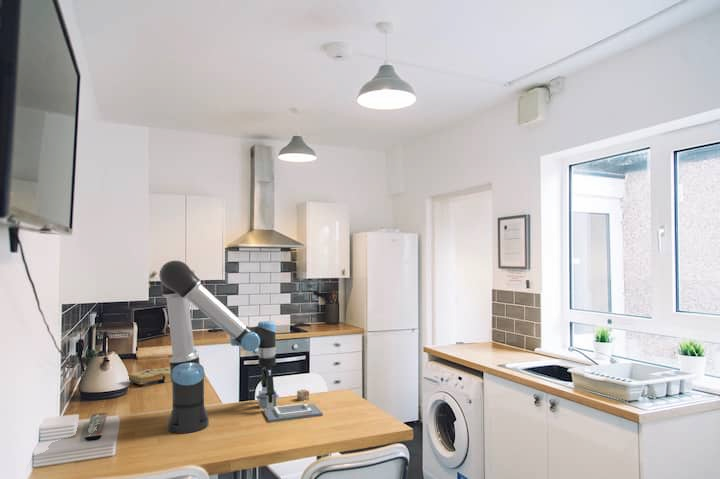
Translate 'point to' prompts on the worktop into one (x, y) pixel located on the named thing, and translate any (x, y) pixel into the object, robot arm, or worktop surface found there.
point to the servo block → (263, 399)
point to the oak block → (302, 395)
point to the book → (151, 376)
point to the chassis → (292, 412)
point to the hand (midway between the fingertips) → (267, 405)
